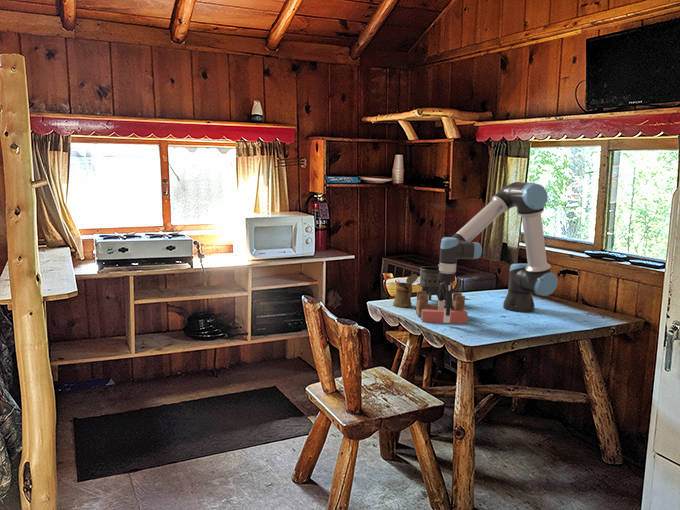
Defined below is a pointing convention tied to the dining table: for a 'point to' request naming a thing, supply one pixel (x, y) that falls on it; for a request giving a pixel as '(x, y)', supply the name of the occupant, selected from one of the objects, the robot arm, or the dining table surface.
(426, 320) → the rail
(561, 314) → the dining table surface
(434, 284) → the planter
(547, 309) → the dining table surface
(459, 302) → the wooden cradle
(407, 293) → the brown jug
